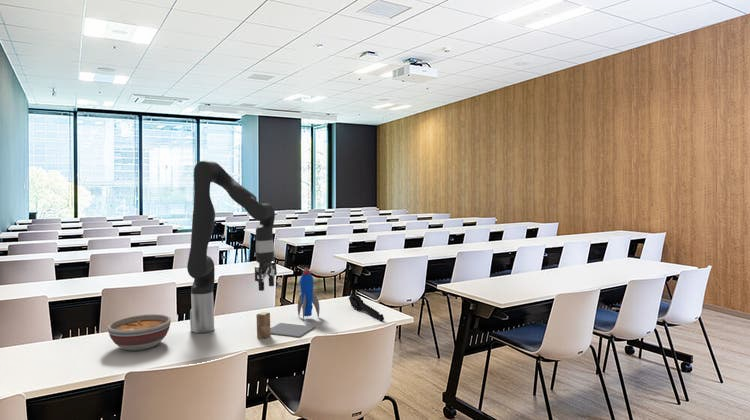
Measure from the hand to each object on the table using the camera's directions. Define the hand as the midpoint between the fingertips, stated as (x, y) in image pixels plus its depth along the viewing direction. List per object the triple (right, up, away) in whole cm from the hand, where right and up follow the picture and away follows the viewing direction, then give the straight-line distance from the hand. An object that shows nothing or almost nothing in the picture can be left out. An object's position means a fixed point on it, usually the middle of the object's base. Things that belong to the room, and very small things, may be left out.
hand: (266, 288), depth 204 cm
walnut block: (-1, -21, -1) cm, 21 cm away
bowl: (-49, -22, -10) cm, 54 cm away
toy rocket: (+14, -19, +23) cm, 33 cm away
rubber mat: (+9, -20, +7) cm, 23 cm away
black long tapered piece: (+42, -18, +34) cm, 57 cm away
